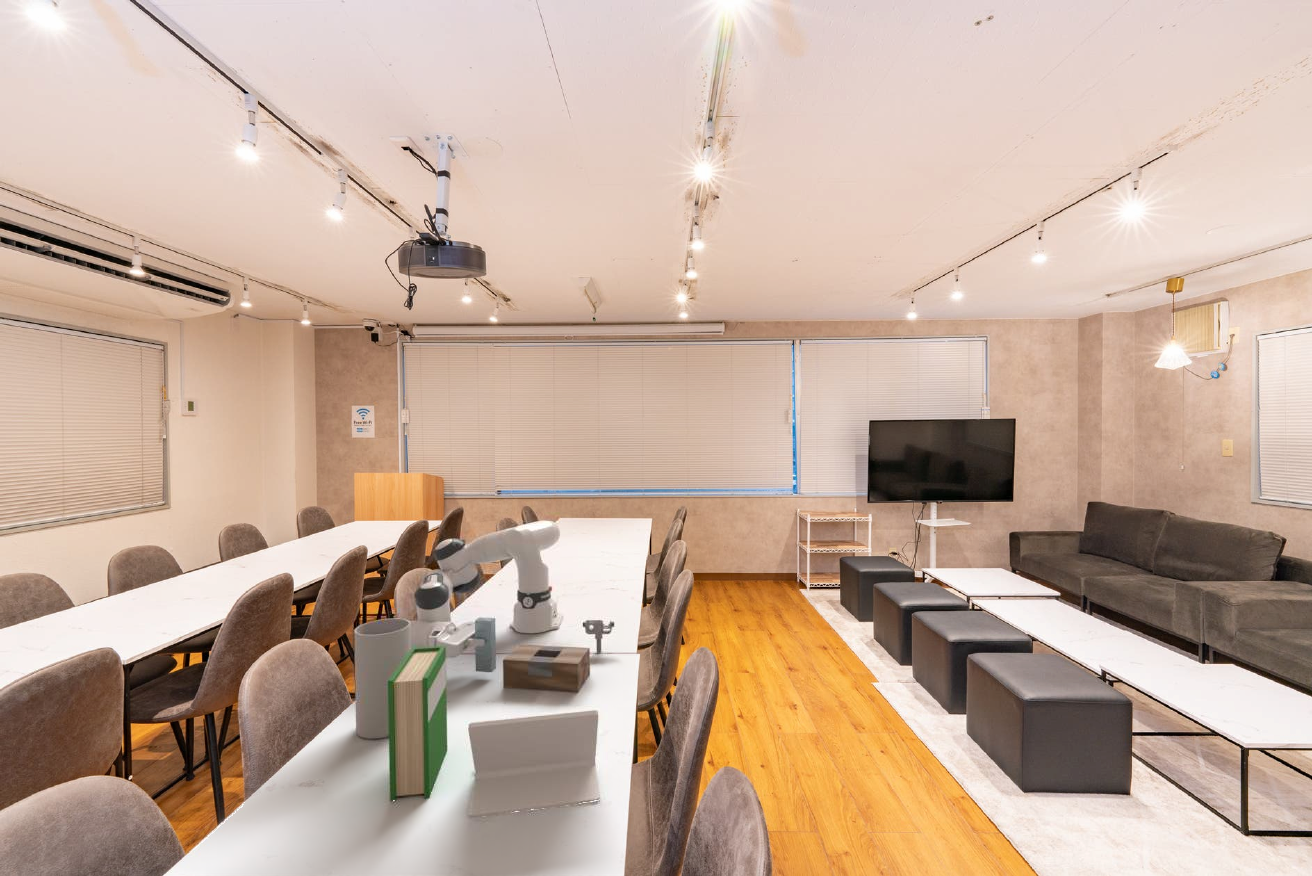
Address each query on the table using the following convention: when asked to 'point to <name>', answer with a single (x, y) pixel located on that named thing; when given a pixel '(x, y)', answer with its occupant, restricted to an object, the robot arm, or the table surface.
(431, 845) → the table surface
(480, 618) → the tall rectangular metal block
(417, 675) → the hardback book
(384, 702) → the cylinder vase
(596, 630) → the mechanical component
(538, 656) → the brown boxy piece
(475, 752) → the tablet stand
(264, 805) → the table surface
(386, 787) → the table surface
